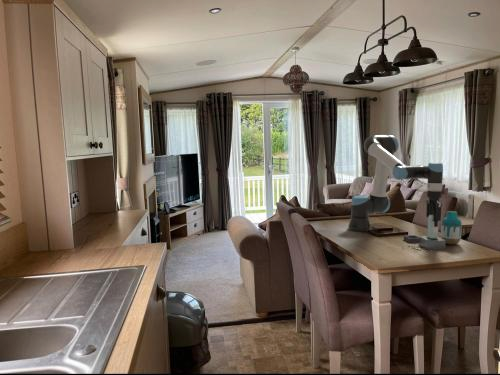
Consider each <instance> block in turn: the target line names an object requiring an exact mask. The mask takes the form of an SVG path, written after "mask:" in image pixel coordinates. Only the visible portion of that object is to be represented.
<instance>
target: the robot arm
mask: <svg viewBox="0 0 500 375" xmlns="http://www.w3.org/2000/svg"><path fill="white" fill-rule="evenodd" d="M363 148H364V151H365V152H366V153H367V154H368V155H369V156H371V157H374V158H375V159H376V163H375V171H374V180H373V186H372V191H371V192H369V194H359V195H355V196H352V198H351V203H350V204H351V205H350V206H351V210H350V211H351V212H350V220H349V223H348V225H347V226H348V227H347V228H348V230H349V231H351V232H360V233H362V232H364V233H365V232H368V231H367V230H369V229H371V230H372V225H371V222H370V216H369V214H370V215H372V214H383V213H387V212H388V211H389V209H390V208H391V207H390V206H391V201H390V197H389V196H388V194H387V186H388V179H389V173H390V172H389V170H390V171H391V172H392V176H393V178H394V179H395V180H401V181H402V180H413V179H414V180H415V179H416V180H418V179H421V180H423V179H424V180H425V179H426V180H427V184H426V188H427V191H426V197H427V198H428V199H426V200H425V201H426V218H428V216H429V215H433V219H434V220H432V221H433V224H432V232H438V233H439V222H440V221H442V219H441V218H442V217H441V216H442V207H443V203H442V202H440V198H443V176H444V164H443V163H442V162H428V164H427V165H423V164H422V165H421V164H420V165H419V164H418V165H407V164H405V163H403V162H402V161H401V160H400V159H398V158H397V157H396V156H394V153H397V151H398V150H399V140H398V139H397V137H396V136H394V135H389V134H378V135H377V134H372V135H370V136H368V137H367V138H365V141H364V143H363ZM438 221H439V222H438Z"/></svg>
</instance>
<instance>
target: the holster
mask: <svg viewBox="0 0 500 375" xmlns="http://www.w3.org/2000/svg"><path fill="white" fill-rule="evenodd" d="M419 238H420V236H418V235H416V234H415V235H407V234H405V235H403V240H404V241H405V242H408V243H410V244H411V243H418V244H419Z"/></svg>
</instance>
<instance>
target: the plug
mask: <svg viewBox="0 0 500 375" xmlns="http://www.w3.org/2000/svg"><path fill="white" fill-rule="evenodd" d="M432 220H434V219H433V215H429V216H428V217H427V234H426V236H427V237H429V238H438V237H439V231H438V232H432V224H433V221H432ZM439 222H440V221H438V223H439Z"/></svg>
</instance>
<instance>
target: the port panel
mask: <svg viewBox="0 0 500 375" xmlns="http://www.w3.org/2000/svg"><path fill="white" fill-rule="evenodd" d="M419 237H420V238H419V242H418V246H420V247H422V248H424V249H425V250H446V240H444V239H442V238H441V237H439V236H438V238H429V237H427V235H423V236H421V235H420V236H419Z"/></svg>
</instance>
